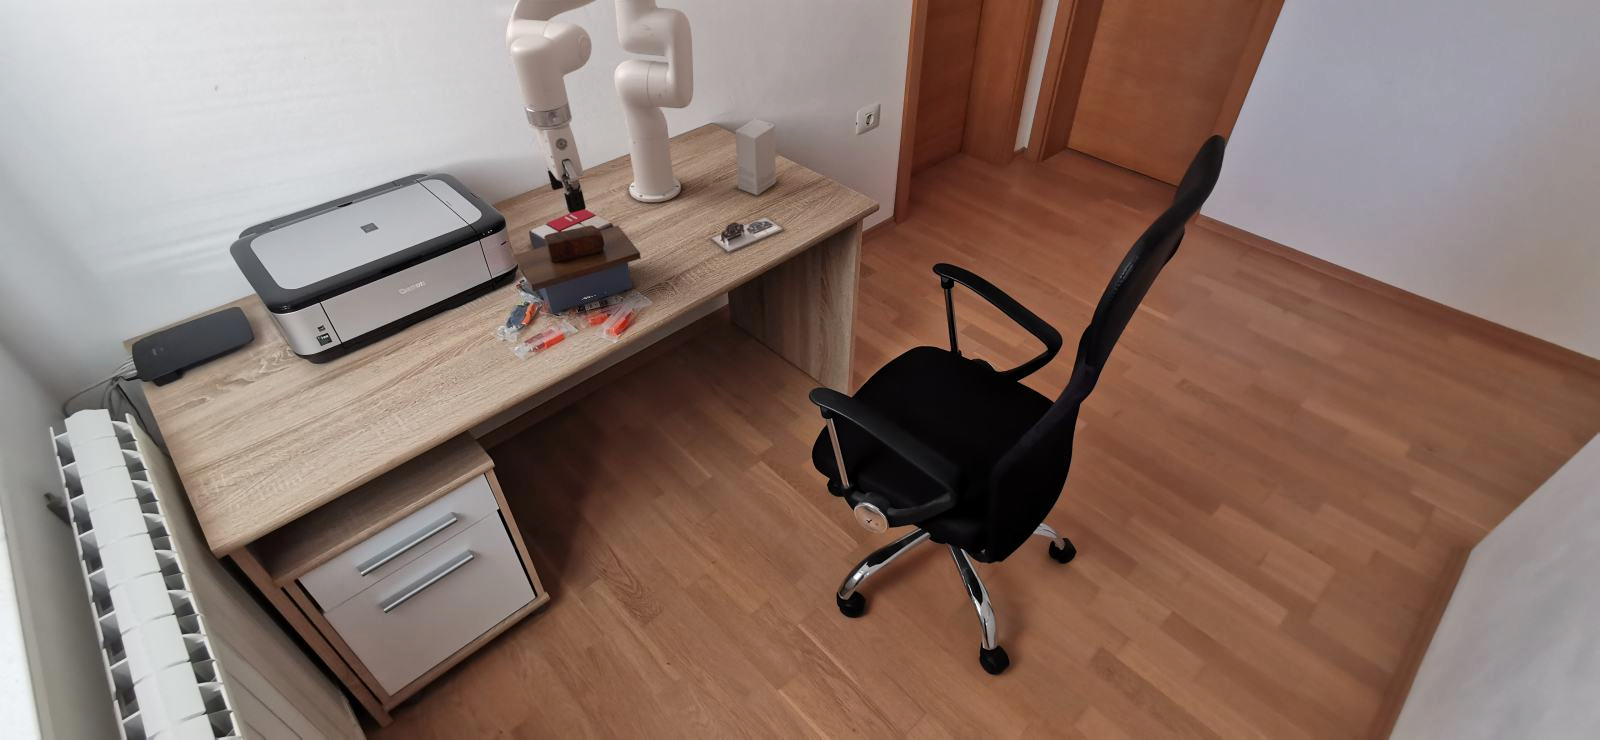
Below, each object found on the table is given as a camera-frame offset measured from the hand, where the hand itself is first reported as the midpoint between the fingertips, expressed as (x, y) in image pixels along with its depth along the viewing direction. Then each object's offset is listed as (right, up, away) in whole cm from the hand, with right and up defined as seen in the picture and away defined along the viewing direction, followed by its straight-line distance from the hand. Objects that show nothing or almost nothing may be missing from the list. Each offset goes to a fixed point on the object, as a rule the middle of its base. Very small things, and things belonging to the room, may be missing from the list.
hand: (568, 198), depth 142 cm
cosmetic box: (+34, +13, +46) cm, 58 cm away
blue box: (-1, -16, +13) cm, 20 cm away
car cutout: (+32, -2, +29) cm, 43 cm away
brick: (0, -9, +7) cm, 12 cm away
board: (0, -11, +8) cm, 13 cm away
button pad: (-7, -4, +26) cm, 27 cm away
